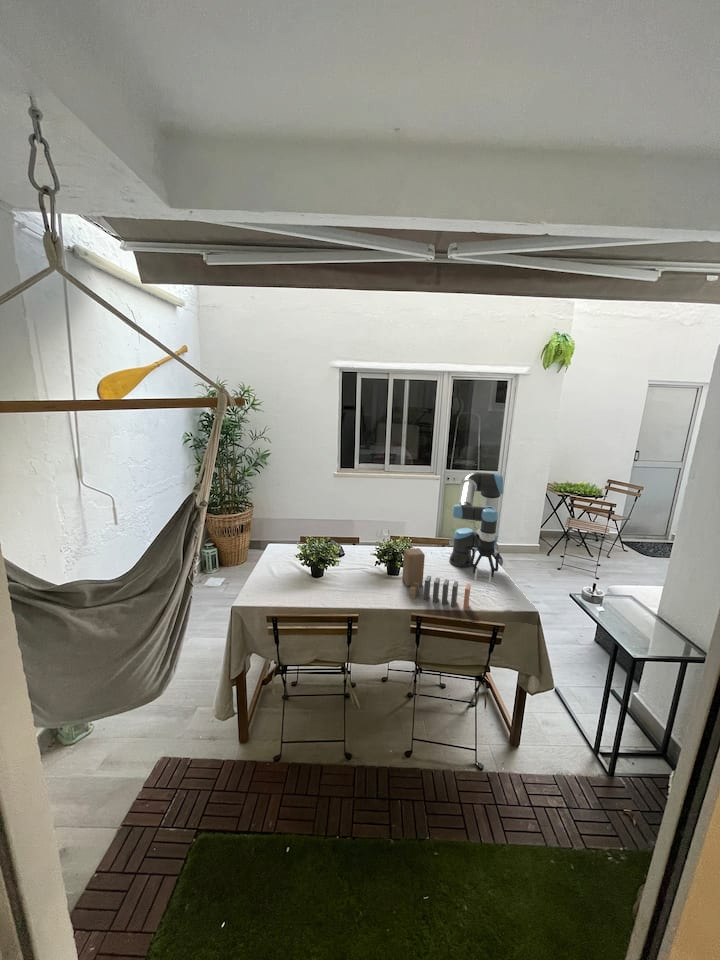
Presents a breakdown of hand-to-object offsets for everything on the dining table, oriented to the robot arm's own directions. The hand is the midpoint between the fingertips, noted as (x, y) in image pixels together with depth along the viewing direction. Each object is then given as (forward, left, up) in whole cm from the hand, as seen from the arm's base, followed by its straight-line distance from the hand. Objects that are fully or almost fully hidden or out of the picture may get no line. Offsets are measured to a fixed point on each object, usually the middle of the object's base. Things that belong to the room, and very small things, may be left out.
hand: (482, 580), depth 212 cm
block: (-14, -41, -17) cm, 46 cm away
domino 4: (0, -14, -17) cm, 22 cm away
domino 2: (0, -24, -17) cm, 29 cm away
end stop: (0, -36, -17) cm, 39 cm away
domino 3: (0, -19, -17) cm, 25 cm away
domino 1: (0, -29, -17) cm, 33 cm away
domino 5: (0, -7, -17) cm, 18 cm away
